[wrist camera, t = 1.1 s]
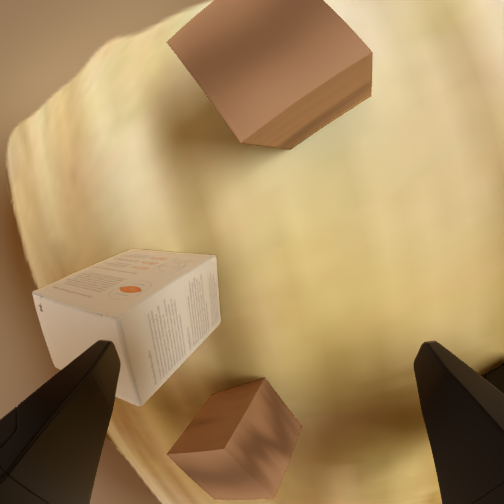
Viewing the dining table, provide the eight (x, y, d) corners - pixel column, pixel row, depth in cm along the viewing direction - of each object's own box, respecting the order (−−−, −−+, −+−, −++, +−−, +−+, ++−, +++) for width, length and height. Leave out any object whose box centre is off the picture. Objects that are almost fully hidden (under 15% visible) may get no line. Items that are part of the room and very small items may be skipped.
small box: (141, 308, 26) (52, 367, 17) (132, 246, 25) (28, 291, 15) (223, 324, 24) (141, 411, 14) (219, 253, 22) (115, 319, 13)
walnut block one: (302, 425, 24) (274, 498, 17) (247, 437, 27) (212, 499, 20) (265, 377, 24) (223, 449, 17) (211, 394, 27) (165, 454, 19)
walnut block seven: (371, 96, 16) (372, 52, 9) (288, 151, 19) (236, 146, 11) (310, 25, 16) (273, -42, 8) (235, 79, 18) (163, 45, 11)
